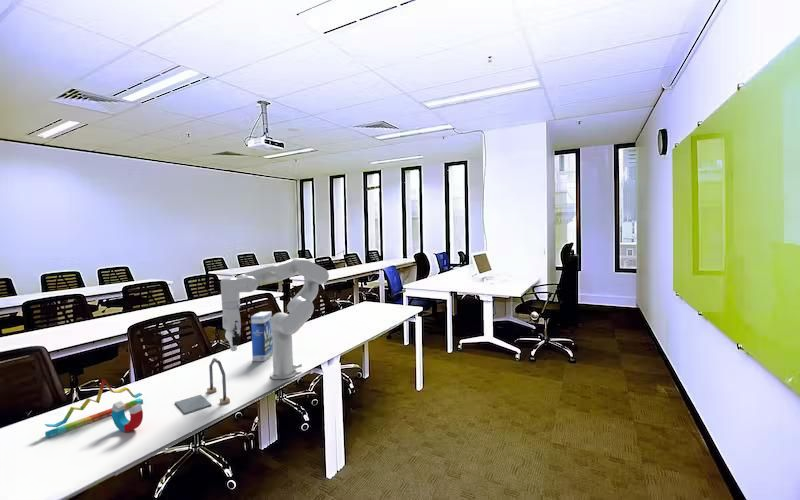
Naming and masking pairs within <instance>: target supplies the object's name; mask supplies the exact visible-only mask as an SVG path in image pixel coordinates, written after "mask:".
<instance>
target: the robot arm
mask: <svg viewBox="0 0 800 500" xmlns="http://www.w3.org/2000/svg"><path fill="white" fill-rule="evenodd" d="M297 275H298V276H303V279H304V282H303V287H302V288H301V289H300V290H299V291H298V293H296V294H295V296H293V297H292V299H291V300H290V301H289V302H288V304H287V306H286V310H287V312H288V313H286V312H281V311H280V312H276V313H275V314H272V318H271V321H270V328H271V333H272V344H273V345H272V346H273V355H272V362H273V363H272V366H273V367H272V369H273V370H272V371H271V372H270V374H269V375H270V378H271V379H272V380H286V379H290V378H292V377H295V376H296V374H297V369H298V368H301V367H303V365H302V363H301V362H300V363H294V357H293V356H294V355H293V353H294V352H293V336H292V335H294V334H296V333H297V332H298V331H299V330H300V329H301V328H302V327H303V326H304V324H305V323H307V322H308V320H309V319H310V318H311V317H312V315H313V313H314V309H315V306H314V303H313V301H314V300H315V299H316V298H317V295H318V294H319V293H318V292H319V285H323V284H325V283H327V282H328V280H329V278H330V277H329V276H330V273H329V271H328V270H327V269H326V268H324V267H322V266H320V265H318V264H317V263H315V262H313V261H310V260H309V259H307V258H301V257H294V258H290V259H288V260H285V261H282V262H280V263H275V264H273V265H270V266H265V267H263V268H258V269H255V270H250V271H248V272H244V273H242V274H239V275H237V276H236V277H225V278H222V279H220V295H221V297H220V298H221V309H222V328H223V330H225V332H226V331H227V330H228V331H232V334H233V337H232V343H233V346H235V345H237V346H240V345H241V330H242V329H241V328H242V322H241V321H242V319H241V314H240V309H241V300H240V293H253V292H254V291H256V290H257V289H258V287H259V285H262V284H271V283H277V282H281V281H284V280H286V279H288V278H292V277H294V276H297ZM235 328H236V330H233V329H235ZM234 331H236V332H235V333H234ZM226 343H228V344H229V341H228V340H227V339H226Z"/></svg>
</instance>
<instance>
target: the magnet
mask: <svg viewBox="0 0 800 500" xmlns="http://www.w3.org/2000/svg"><path fill="white" fill-rule="evenodd" d="M111 408H112V415H111V418H112V421H113V424H114V425H115V427H116V428H117V429H118V430H120V431H121V432H123V433H129V432H132V431H133V430H135V429H137V428H139V427H140V426H141V424H142V423H143V419H144V418H143V417H144V413H143V407H142V404H137V405H135V406H133V407H132V408H130V409H128V412H129V415H130V417H129V418H130V419H128V418H127V416H126V414H125V410H124V408H125V403H124V402H123V401H122V400H119V401H117V402H114V403H113V404H112V407H111Z"/></svg>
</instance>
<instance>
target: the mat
mask: <svg viewBox="0 0 800 500" xmlns="http://www.w3.org/2000/svg"><path fill="white" fill-rule="evenodd" d="M174 404H175V406H177V408H179V410H180V411H181V412H182V413H183V414H184V415H187V414H190V413H194V412H196V411H197V412H198V411H199V410H203V409H206V408H209V407H212V403H211V402H210V401H209V400H207V399H206V398H205V397H204V396H203V395H202V394H198V395H195V396H192V397H191V396H190V397H188V398H185V399H181V400H177V401H175V402H174Z"/></svg>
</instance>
